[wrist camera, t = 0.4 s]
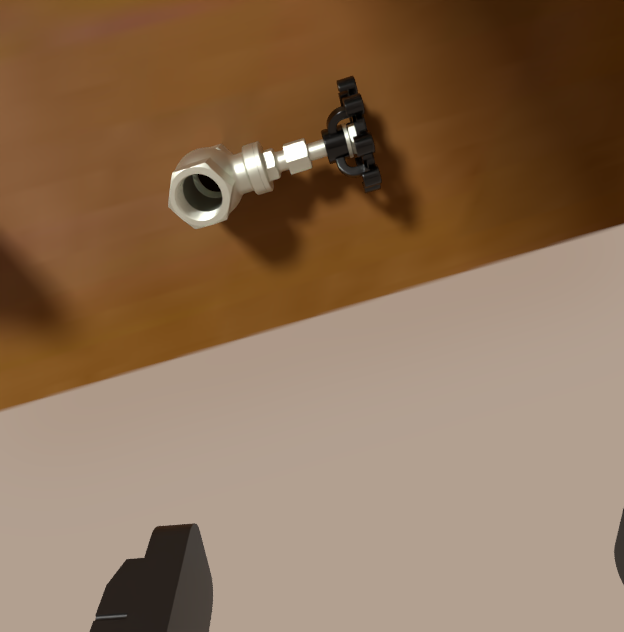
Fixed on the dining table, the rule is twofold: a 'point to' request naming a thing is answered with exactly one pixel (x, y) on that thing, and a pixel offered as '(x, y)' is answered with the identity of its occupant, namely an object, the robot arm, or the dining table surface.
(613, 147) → the dining table surface
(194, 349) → the dining table surface
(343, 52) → the dining table surface
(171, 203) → the valve
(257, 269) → the dining table surface
